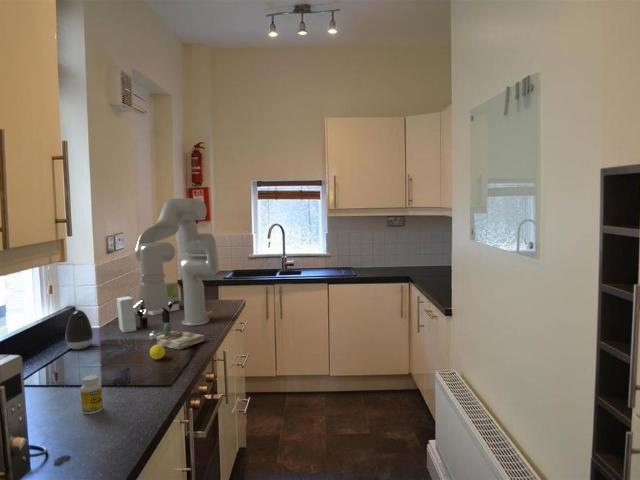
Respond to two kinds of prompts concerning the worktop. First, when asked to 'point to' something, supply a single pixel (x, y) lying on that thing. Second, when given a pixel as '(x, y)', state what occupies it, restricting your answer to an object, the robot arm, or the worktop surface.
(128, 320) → the skincare box
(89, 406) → the supplement bottle
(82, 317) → the grey dome gadget
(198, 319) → the robot arm
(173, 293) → the tea box
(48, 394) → the worktop surface
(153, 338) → the hub
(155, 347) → the lemon
